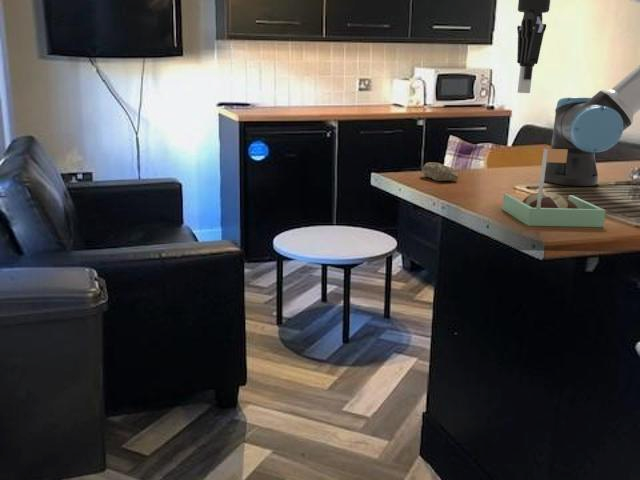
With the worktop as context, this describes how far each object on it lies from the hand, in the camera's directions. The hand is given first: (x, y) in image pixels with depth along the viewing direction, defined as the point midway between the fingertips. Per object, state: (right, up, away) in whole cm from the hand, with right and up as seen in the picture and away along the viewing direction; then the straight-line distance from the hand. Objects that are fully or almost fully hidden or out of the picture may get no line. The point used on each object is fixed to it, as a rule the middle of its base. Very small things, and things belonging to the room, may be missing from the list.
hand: (523, 92), depth 174 cm
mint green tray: (-3, -33, -29) cm, 44 cm away
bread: (-3, -33, -27) cm, 43 cm away
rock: (-19, -21, +13) cm, 31 cm away
